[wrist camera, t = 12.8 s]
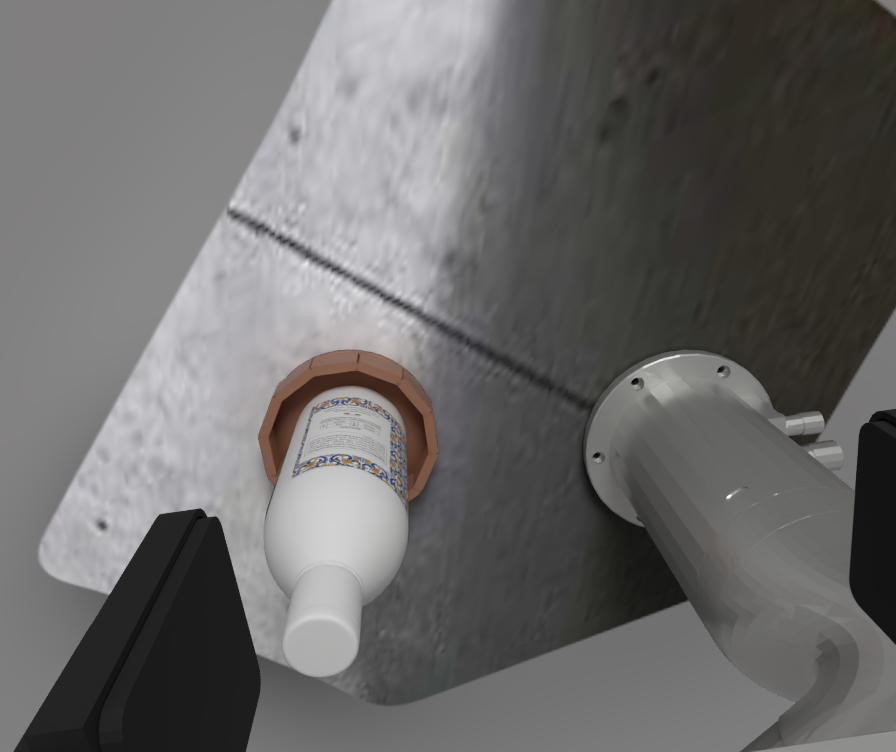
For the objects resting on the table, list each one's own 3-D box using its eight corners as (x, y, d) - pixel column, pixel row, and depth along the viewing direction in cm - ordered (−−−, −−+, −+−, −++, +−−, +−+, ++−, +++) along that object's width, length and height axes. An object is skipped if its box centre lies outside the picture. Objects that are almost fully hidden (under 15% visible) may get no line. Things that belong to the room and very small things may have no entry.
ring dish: (422, 338, 45) (423, 351, 43) (444, 489, 49) (446, 509, 46) (252, 362, 45) (243, 376, 42) (286, 512, 48) (280, 533, 46)
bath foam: (363, 502, 48) (340, 748, 29) (274, 443, 46) (189, 666, 27) (428, 424, 46) (449, 631, 27) (339, 361, 45) (296, 536, 26)
